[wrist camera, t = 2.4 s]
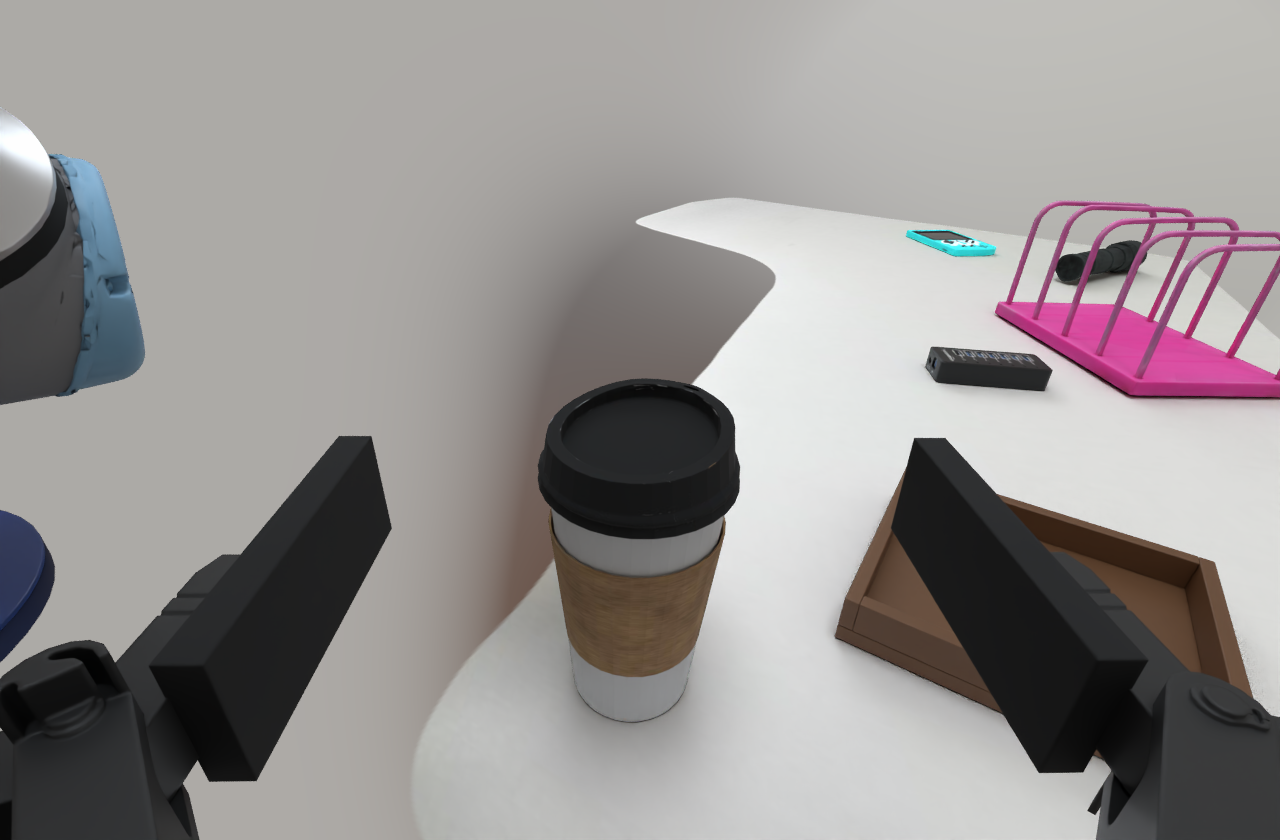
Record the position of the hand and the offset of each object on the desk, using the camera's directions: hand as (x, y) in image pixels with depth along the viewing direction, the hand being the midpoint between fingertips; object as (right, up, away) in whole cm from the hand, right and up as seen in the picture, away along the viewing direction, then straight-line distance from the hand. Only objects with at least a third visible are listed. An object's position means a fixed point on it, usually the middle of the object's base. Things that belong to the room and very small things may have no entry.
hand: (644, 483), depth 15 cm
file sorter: (+58, +10, +59) cm, 83 cm away
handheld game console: (+60, +36, +105) cm, 126 cm away
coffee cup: (-1, -12, +17) cm, 20 cm away
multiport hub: (+37, +6, +50) cm, 63 cm away
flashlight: (+77, +26, +89) cm, 120 cm away
